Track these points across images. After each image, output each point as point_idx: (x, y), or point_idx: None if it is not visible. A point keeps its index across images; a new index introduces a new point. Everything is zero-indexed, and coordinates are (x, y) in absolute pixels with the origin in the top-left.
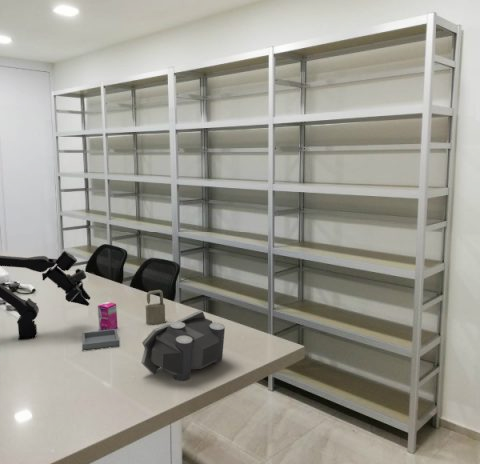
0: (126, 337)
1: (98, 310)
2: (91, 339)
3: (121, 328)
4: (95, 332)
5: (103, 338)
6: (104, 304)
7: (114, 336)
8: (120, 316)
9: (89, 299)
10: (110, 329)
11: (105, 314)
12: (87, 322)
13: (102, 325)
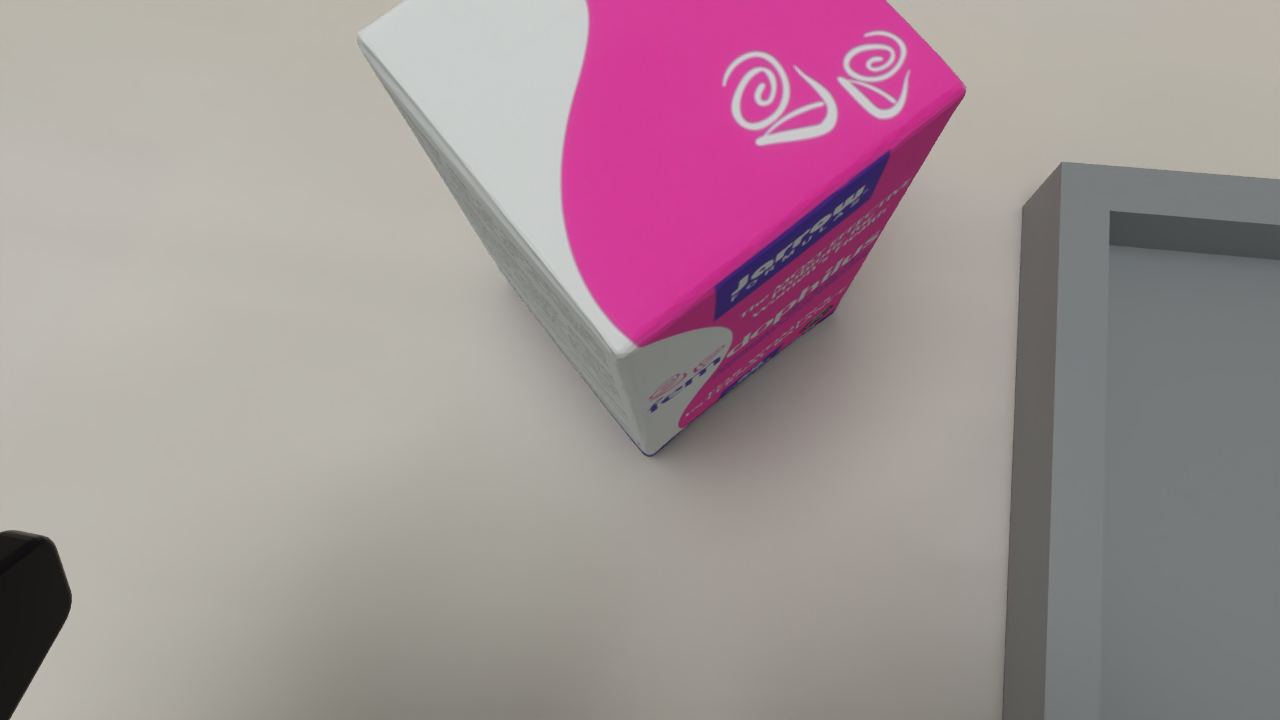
0: (1225, 83)
1: (651, 378)
2: (1210, 688)
3: None
4: (1094, 584)
5: (1231, 461)
6: (619, 129)
7: (1193, 260)
8: (75, 4)
9: (66, 585)
10: (1057, 274)
11: (845, 240)
12: (78, 598)
13: (725, 383)
